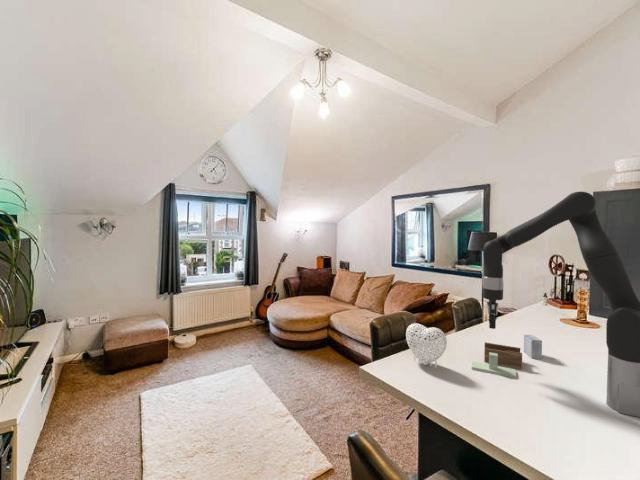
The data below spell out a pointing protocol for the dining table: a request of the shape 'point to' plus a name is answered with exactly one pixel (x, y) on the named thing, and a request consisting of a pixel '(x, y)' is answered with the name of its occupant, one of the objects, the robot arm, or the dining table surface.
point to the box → (504, 355)
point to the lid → (493, 367)
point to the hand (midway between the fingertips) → (491, 325)
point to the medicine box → (533, 346)
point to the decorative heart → (426, 343)
